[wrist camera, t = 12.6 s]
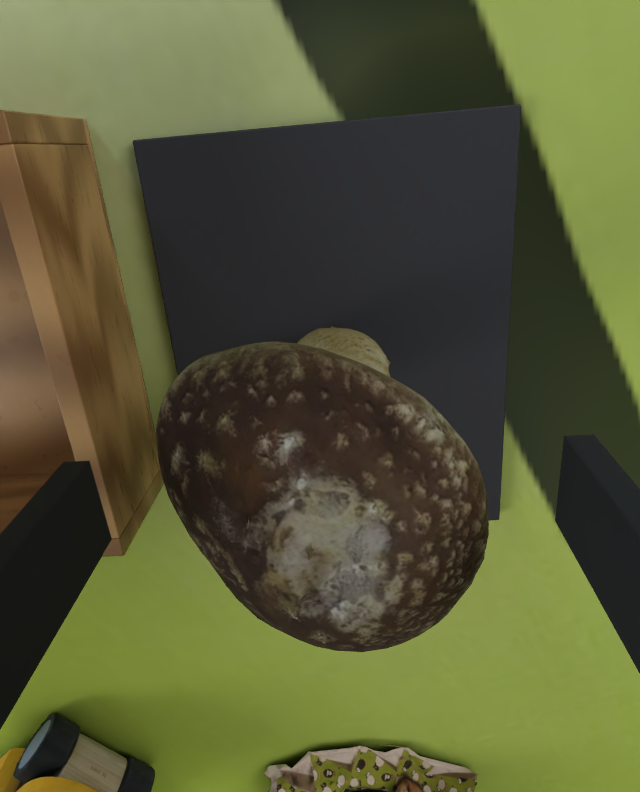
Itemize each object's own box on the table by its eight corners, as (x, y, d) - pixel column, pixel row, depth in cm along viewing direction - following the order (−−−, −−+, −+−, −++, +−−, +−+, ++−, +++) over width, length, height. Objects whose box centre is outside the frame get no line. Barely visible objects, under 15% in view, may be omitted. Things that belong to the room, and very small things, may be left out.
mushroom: (443, 420, 28) (531, 677, 15) (278, 456, 30) (215, 724, 16) (403, 231, 25) (469, 335, 11) (217, 282, 26) (69, 432, 12)
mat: (136, 140, 24) (131, 140, 24) (517, 105, 23) (521, 104, 23) (210, 524, 32) (207, 531, 32) (496, 513, 31) (499, 520, 30)
